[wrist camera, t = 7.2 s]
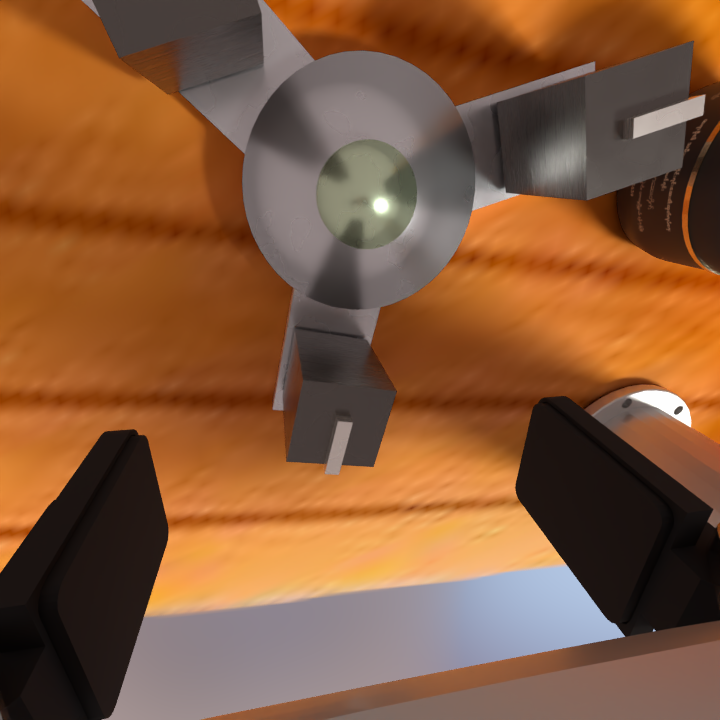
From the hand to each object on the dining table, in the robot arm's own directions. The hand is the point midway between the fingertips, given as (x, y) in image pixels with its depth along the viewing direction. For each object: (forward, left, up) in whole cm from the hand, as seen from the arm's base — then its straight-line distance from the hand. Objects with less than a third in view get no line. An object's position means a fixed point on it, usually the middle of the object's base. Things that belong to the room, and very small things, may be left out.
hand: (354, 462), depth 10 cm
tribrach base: (+4, -7, -16) cm, 18 cm away
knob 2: (-5, 0, -14) cm, 15 cm away
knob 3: (+4, -15, -14) cm, 21 cm away
